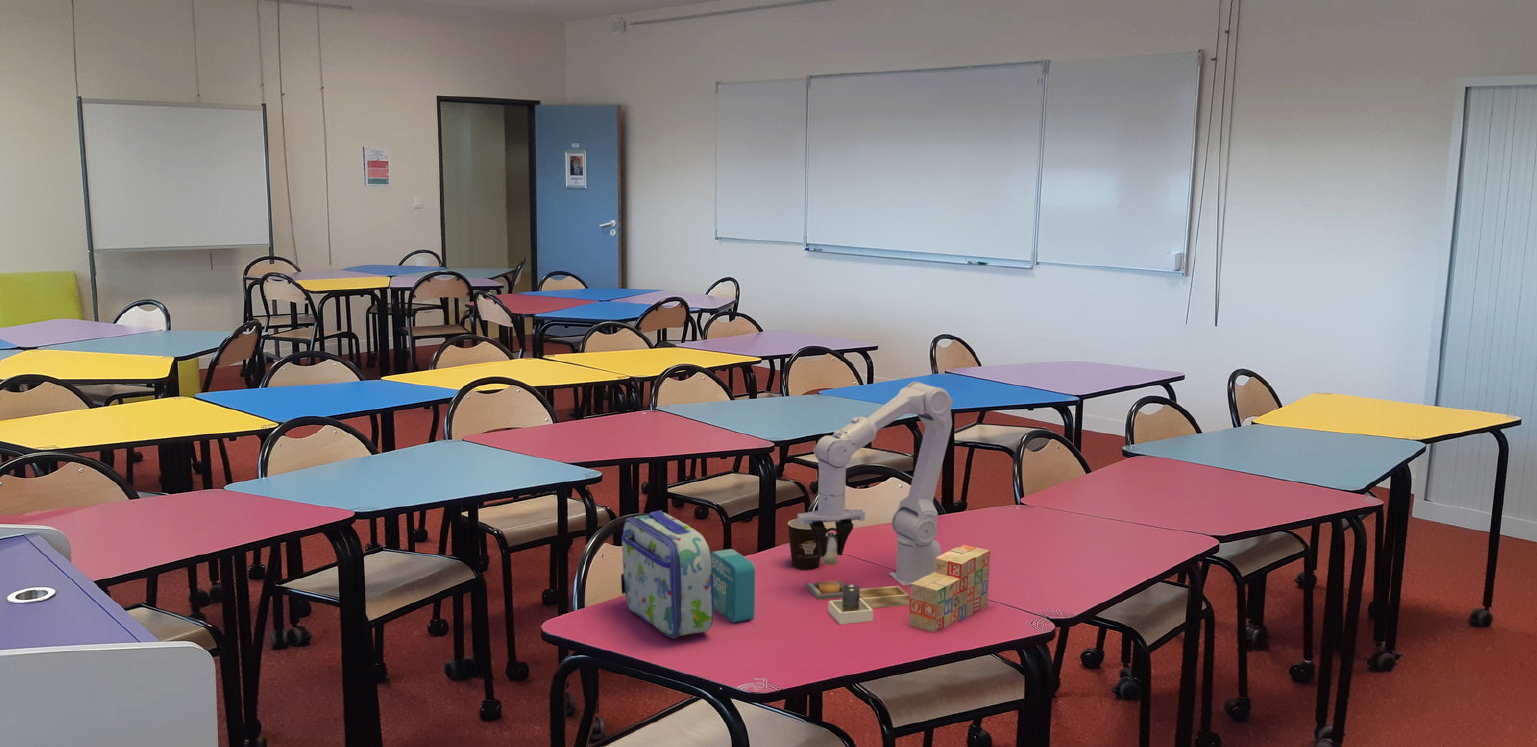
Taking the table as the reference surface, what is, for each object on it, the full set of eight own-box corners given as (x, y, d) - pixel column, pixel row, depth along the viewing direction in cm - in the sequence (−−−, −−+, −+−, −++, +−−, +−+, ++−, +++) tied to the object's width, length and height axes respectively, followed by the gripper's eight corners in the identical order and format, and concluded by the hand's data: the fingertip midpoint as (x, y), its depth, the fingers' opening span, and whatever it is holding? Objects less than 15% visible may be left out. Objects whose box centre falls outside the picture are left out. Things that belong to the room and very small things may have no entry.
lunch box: (615, 604, 227) (615, 506, 224) (663, 596, 232) (663, 500, 229) (667, 649, 205) (667, 541, 201) (718, 639, 210) (719, 533, 207)
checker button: (835, 588, 238) (835, 579, 238) (842, 595, 234) (842, 586, 233) (816, 590, 237) (816, 581, 236) (822, 597, 232) (823, 588, 232)
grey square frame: (840, 585, 240) (840, 579, 240) (853, 598, 232) (853, 591, 232) (805, 588, 238) (805, 582, 238) (817, 601, 230) (817, 594, 230)
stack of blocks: (935, 635, 213) (938, 575, 212) (908, 627, 217) (910, 568, 215) (987, 605, 230) (990, 549, 228) (961, 598, 234) (964, 543, 232)
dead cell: (855, 612, 223) (856, 581, 222) (861, 618, 220) (862, 587, 219) (839, 613, 222) (840, 583, 221) (845, 619, 219) (846, 588, 218)
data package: (709, 605, 227) (710, 549, 226) (729, 601, 229) (730, 546, 228) (734, 625, 217) (735, 567, 215) (755, 621, 219) (755, 563, 217)
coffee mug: (782, 569, 250) (783, 526, 249) (792, 557, 259) (793, 516, 257) (832, 574, 247) (833, 532, 246) (840, 563, 255) (841, 521, 254)
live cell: (835, 559, 236) (836, 530, 235) (839, 564, 233) (840, 534, 232) (820, 560, 236) (820, 530, 235) (824, 565, 232) (824, 535, 231)
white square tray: (860, 610, 226) (860, 597, 225) (872, 623, 219) (873, 610, 218) (828, 613, 224) (828, 600, 223) (839, 626, 217) (840, 613, 217)
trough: (898, 597, 234) (898, 585, 233) (908, 607, 228) (909, 595, 228) (853, 601, 231) (853, 589, 230) (862, 611, 225) (863, 599, 225)
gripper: (857, 486, 237) (855, 546, 240) (793, 489, 234) (792, 551, 236) (869, 494, 231) (867, 556, 233) (803, 498, 227) (802, 561, 229)
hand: (830, 554), depth 234 cm, fingers closed on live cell, 3 cm apart
